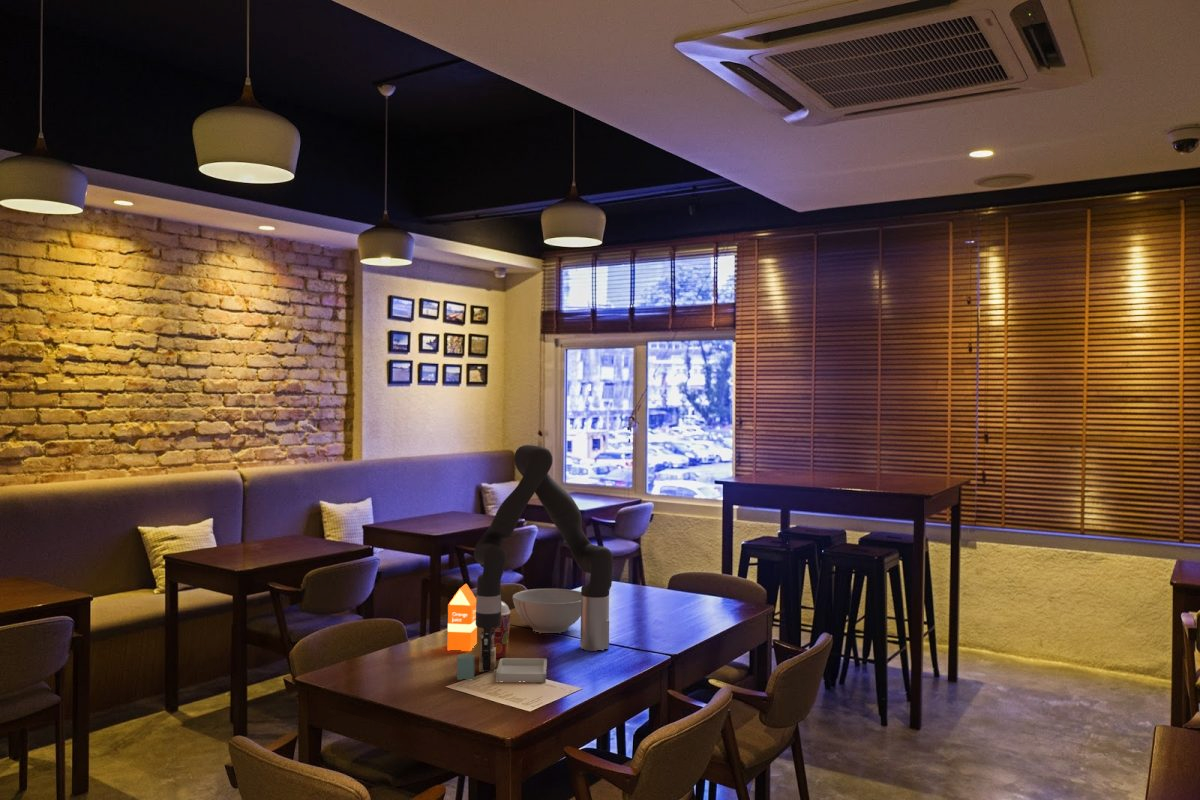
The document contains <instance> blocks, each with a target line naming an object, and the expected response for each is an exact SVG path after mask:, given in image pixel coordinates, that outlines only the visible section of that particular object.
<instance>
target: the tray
mask: <svg viewBox="0 0 1200 800" xmlns="http://www.w3.org/2000/svg"><path fill="white" fill-rule="evenodd" d="M547 669H548V659H547V658H540V657H537V658H533V657H531V658H530V657H529V658H528V657H525V658H522V657H519V658H518V657H517V658H516V657H513V658H511V657H502V658H499V661H498V665H497V668H496V671H495V682H496V681H498V682H500V681H503V682H519V681H521V682H523V681H525V682H545V683H546V679H547V671H546V670H547Z"/></svg>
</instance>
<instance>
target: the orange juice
mask: <svg viewBox="0 0 1200 800" xmlns="http://www.w3.org/2000/svg"><path fill="white" fill-rule="evenodd" d="M476 598H477V597H476V596H475V595H474V593H473V591H472V590H471V588H470V587H469V585H468V584H467V583H465V584H463V585H462V586H461V587H460V588H458V590H457V592H456V593H455V594H454V595H453V598H452V599H451V600H450V601H449V603H448V604H447V645H446V646H447V648H446V649H447V651H450V650H461V651H460V652H471V651H472V650H473V649H474V648H475V647H476V646H477V645H478V627H477V626H476V624H475V623H476ZM476 644H477V645H476ZM475 645H476V646H475ZM474 646H475V647H474ZM472 648H473V649H472Z"/></svg>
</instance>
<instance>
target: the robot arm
mask: <svg viewBox="0 0 1200 800" xmlns="http://www.w3.org/2000/svg"><path fill="white" fill-rule="evenodd" d="M513 460H514V461H513V462H514V465H515V468H516V470H517V471H518V472H519V474H520V475H521V476H522V477H521V480H520V481H519V482H518V484H517V486H516V487H515V488H514V489H513V491H512V492H510V494H509V495H508V496H507V497H506V498H505V499H504V500H503V502H502V503H501V504H500V506H499V507H498V509H497V510H496V513H495V515H494V516H493V519H492V521H491V524H490V525H489V527H488V528H487V530H486V531H485V532H484V533H483V535H482V536H481V537H480V539H479V540H478V541H477V543H476V545H475V547H474V552H473V557H474V560H475V562H476V563H478V564H479V565H482V566H483V571H482V574H480V575H478V577H477V582H476V597H475V598H476V623H475V624H476V626H477V628H480V629H481V628H482V629H483V630H482V631H481V633H480V639H481V642H480V648H481V649H482V657H483V670H487V671H489V670H490V668H491V650H492V649H493V647H494V637H495V631H494V628H496V627H499V626H500V625H501V601H502V598H501V597H502V596H501V595H502V594H501V593H502V591H501V588H502V587H501V585H502V583H501V580H502V578H503V574H504V569H505V565H506V553H505V549H504V548H503V546H501V544H502V543H503V541H505V540H508V539H510V537H512V535H513V533H514V531H515V529H516V526H517V525H518V522H519V521H520V518H521V516H522V514H523V512H524V510H525V509H526V508H527V505H528V503H529V502H530V500H531V498H533V496H534V495H536V496H537V498H538V500H539V501H540V503H541V504H542V507H544V509H545V511H546V513H547V514H548V516H549V518H550V520H551V521H552V522H553V524H554V526H556V528H557V530H558V531H559V534H560V535H561V536H562V538H563V540H564V541H565V543H566V544H567V547H568V548H569V550H570V553H571V554H572V556H573V559H574V562H576V565H577V567H578V568H579V569H580V570H581V571H582V572H585V573H587V574H590V575H589V576H590V578H589V582H588V583H586V584H583V585H582V586H581V590H580V592H581V616H580V639H579V641H580V643H579V644H580V647H581V648H580V647H579V648H580V649H581V650H583V649H584V651H589V652H598V651H597V650H602V649H609V650H610V590H611V587H612V584H613V571H614V558H613V554H612V551H611V549H609V548H608V547H606V546H602V545H595V544H593V543H591V542H590V540H589V539H588V537H587V536H586V534H585V532H584V530H583V517H582V513H581V510H580V509H579V506H578V505H577V504H576V501H575V500H574V498H573V497H572V495H571V494H569V492H568V491H567V490H566V489H565V488H564V487H562V486H561V485H560V483H558V482H557V481H556V480H555V479H553V477H552V476H551V475H550V473H549V471H550V470H551V468H552V465H553V454H552V451H550V450H549V449H548V448H546V447H545V446H539V445H531V444H530V445H528V444H526V445H524V444H523V445H521V446H519V447H518V448H517V449H516V450H515V452H514V455H513ZM485 650H488V651H489V653H484V651H485ZM602 651H603V650H602Z"/></svg>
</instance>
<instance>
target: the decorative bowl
mask: <svg viewBox="0 0 1200 800" xmlns="http://www.w3.org/2000/svg"><path fill="white" fill-rule="evenodd" d="M512 602H513V605H514V608H515V610H516V612H517V614H518V616H519V617H520V619H521V620H522V621H523V622H524V623H525V624H526V625H528V626H529V627H531V628H532V629H533V630H532V632H534V631H535V632H534V633H536V632H539V633H538V634H541V633H559V634H562V633H561V632H564V631H566V630H567V631H568V629H569V628H570V627H571V626H572V625H574V624H575V623H576V622H577V621H578V620H579V619H581V590H575V589H574V590H573V589H568V588H567V589H566V588H533V589H526V590H521V591H519V592H518V591H517V592H515V593H514V594H512ZM567 631H566V632H567ZM564 633H565V632H564Z"/></svg>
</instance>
